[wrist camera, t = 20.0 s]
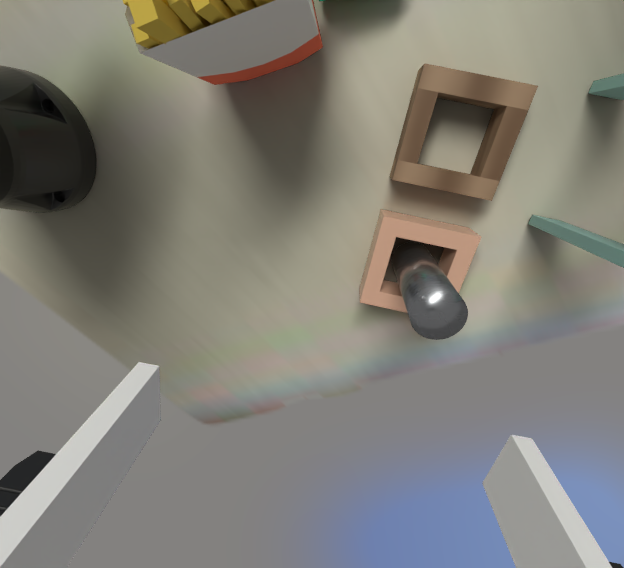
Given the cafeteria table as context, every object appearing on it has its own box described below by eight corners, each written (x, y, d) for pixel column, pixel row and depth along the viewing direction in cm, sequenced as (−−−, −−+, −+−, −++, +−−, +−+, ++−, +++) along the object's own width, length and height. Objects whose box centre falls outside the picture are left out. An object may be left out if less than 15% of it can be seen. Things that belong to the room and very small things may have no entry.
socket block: (389, 177, 36) (392, 179, 33) (418, 70, 32) (424, 63, 29) (481, 196, 36) (491, 200, 33) (522, 90, 32) (538, 85, 29)
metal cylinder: (387, 272, 40) (403, 332, 27) (397, 237, 38) (419, 285, 26) (423, 280, 40) (455, 344, 27) (435, 245, 38) (476, 297, 26)
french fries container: (207, 38, 33) (62, -68, 16) (313, -2, 31) (267, -170, 14) (223, 89, 35) (106, 40, 18) (325, 54, 32) (296, -38, 16)
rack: (359, 288, 41) (359, 302, 38) (380, 209, 37) (383, 216, 34) (438, 305, 41) (446, 321, 37) (468, 227, 37) (481, 236, 33)
